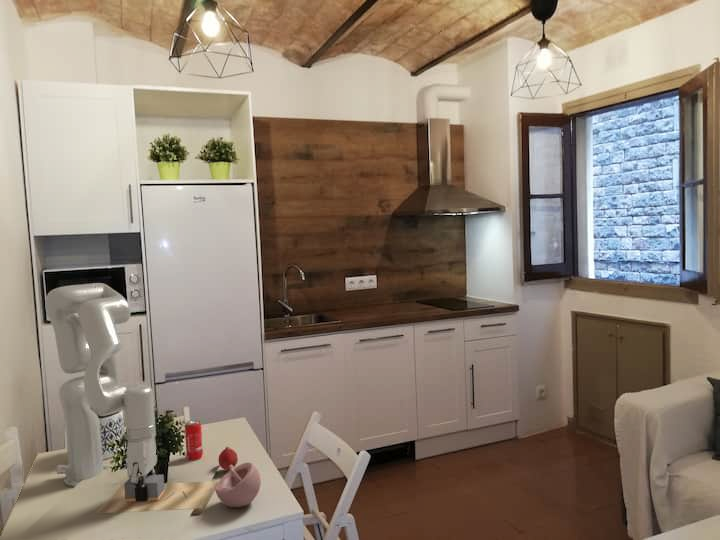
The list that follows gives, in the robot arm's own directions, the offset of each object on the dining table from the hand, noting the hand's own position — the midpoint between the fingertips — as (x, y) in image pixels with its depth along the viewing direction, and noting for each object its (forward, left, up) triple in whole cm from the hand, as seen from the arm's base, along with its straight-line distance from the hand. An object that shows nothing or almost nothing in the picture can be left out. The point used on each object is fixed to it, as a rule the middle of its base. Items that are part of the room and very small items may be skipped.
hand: (146, 494), depth 153 cm
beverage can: (+5, +30, -2) cm, 31 cm away
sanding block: (0, 0, -1) cm, 1 cm away
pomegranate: (+19, +18, -2) cm, 26 cm away
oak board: (+4, 0, -2) cm, 4 cm away
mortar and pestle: (+27, -4, -2) cm, 27 cm away
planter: (-30, +38, -2) cm, 49 cm away
